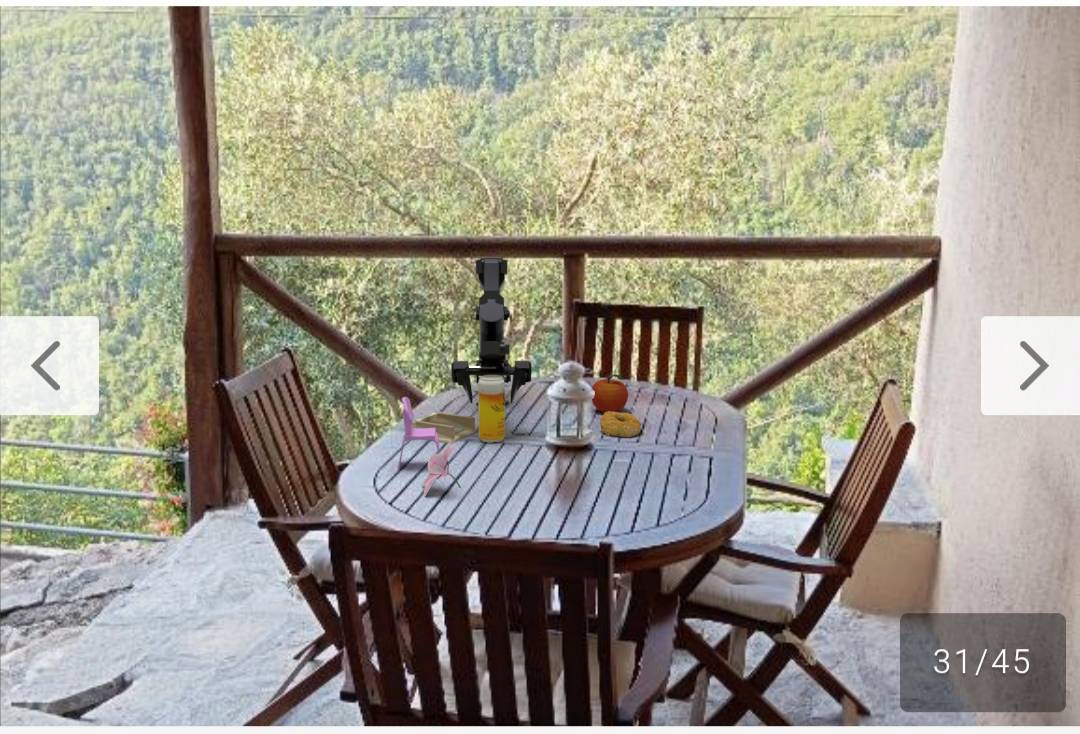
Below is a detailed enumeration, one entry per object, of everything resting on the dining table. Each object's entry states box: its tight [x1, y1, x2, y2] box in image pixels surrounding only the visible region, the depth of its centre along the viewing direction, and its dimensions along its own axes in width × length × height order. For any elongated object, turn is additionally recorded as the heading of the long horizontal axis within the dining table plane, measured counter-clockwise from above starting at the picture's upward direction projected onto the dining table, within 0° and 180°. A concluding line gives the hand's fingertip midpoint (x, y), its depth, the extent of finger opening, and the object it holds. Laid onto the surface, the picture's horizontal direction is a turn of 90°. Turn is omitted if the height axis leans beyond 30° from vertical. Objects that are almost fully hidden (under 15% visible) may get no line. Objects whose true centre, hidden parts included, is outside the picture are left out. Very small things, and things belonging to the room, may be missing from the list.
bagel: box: [599, 411, 642, 438], centre depth 256 cm, size 10×11×5 cm
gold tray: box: [411, 410, 478, 444], centre depth 254 cm, size 12×12×4 cm
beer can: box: [477, 375, 506, 444], centre depth 248 cm, size 6×6×15 cm
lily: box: [421, 441, 462, 498], centre depth 214 cm, size 12×12×10 cm
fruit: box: [591, 373, 629, 414], centre depth 274 cm, size 10×10×10 cm
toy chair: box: [397, 396, 440, 471], centre depth 229 cm, size 8×9×15 cm
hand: (491, 402), depth 248 cm, fingers open, 9 cm apart
